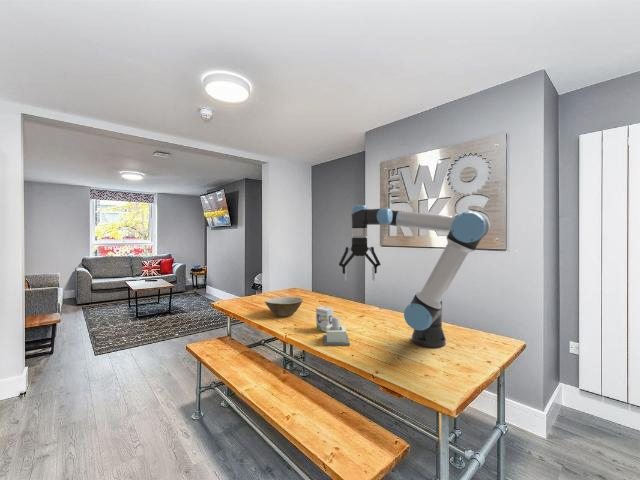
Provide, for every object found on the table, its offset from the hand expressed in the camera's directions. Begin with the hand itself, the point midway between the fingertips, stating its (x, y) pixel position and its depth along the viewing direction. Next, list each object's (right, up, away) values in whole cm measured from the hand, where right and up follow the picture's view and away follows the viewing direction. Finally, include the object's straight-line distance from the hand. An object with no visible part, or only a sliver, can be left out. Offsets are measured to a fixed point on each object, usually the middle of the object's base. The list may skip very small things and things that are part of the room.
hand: (359, 280), depth 148 cm
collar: (-12, -28, -3) cm, 30 cm away
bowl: (-42, -28, +43) cm, 66 cm away
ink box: (-17, -29, +13) cm, 36 cm away
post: (-12, -29, -3) cm, 31 cm away
